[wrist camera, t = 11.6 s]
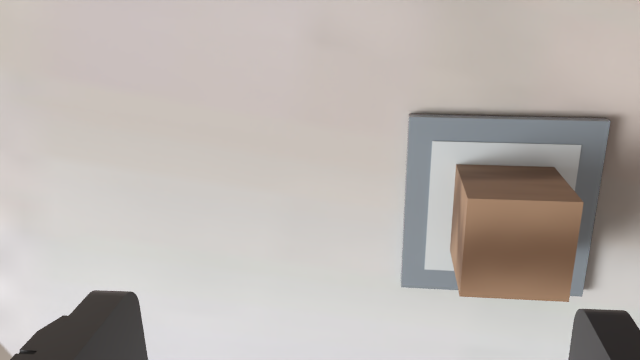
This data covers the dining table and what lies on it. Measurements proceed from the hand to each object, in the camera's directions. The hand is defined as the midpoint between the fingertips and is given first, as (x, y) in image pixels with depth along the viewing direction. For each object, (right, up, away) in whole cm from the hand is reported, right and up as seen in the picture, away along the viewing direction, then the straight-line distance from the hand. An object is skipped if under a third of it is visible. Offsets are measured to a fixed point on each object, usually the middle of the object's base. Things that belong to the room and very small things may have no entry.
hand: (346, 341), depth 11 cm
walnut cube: (+11, +1, +27) cm, 30 cm away
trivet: (+11, +1, +28) cm, 30 cm away
